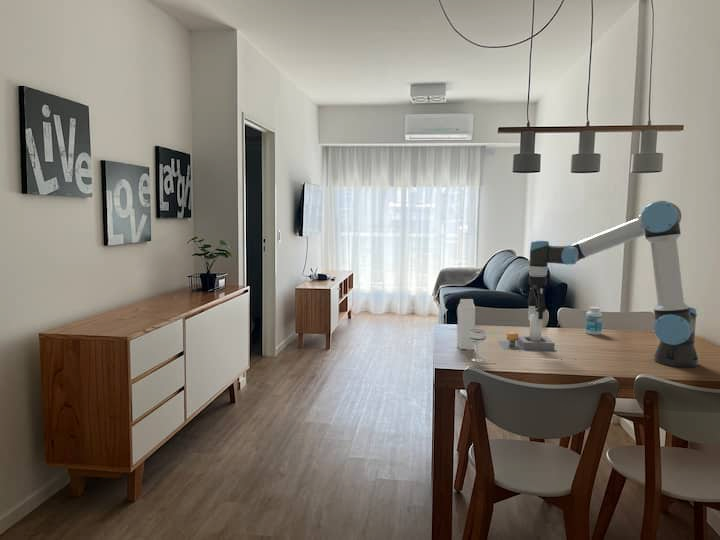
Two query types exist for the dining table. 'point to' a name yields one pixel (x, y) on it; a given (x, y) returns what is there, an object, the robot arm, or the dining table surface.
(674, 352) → the robot arm
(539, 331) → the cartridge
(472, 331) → the wineglass
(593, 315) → the pill bottle
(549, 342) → the housing
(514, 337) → the orange rounded knob
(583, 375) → the dining table surface
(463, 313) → the milk
